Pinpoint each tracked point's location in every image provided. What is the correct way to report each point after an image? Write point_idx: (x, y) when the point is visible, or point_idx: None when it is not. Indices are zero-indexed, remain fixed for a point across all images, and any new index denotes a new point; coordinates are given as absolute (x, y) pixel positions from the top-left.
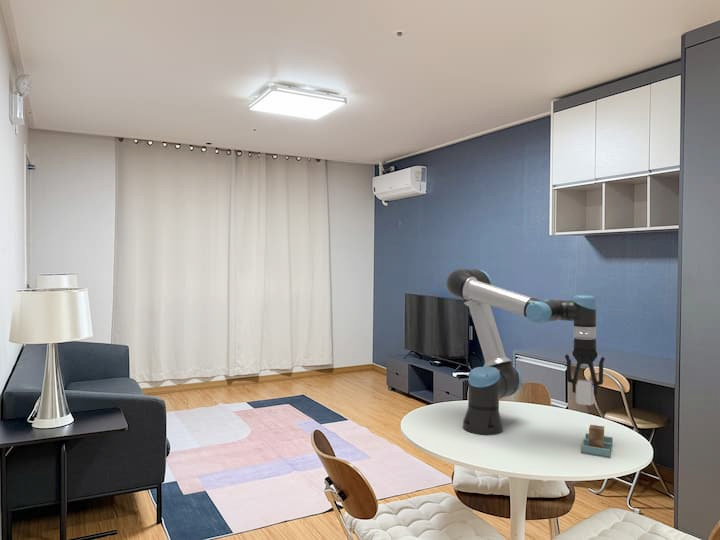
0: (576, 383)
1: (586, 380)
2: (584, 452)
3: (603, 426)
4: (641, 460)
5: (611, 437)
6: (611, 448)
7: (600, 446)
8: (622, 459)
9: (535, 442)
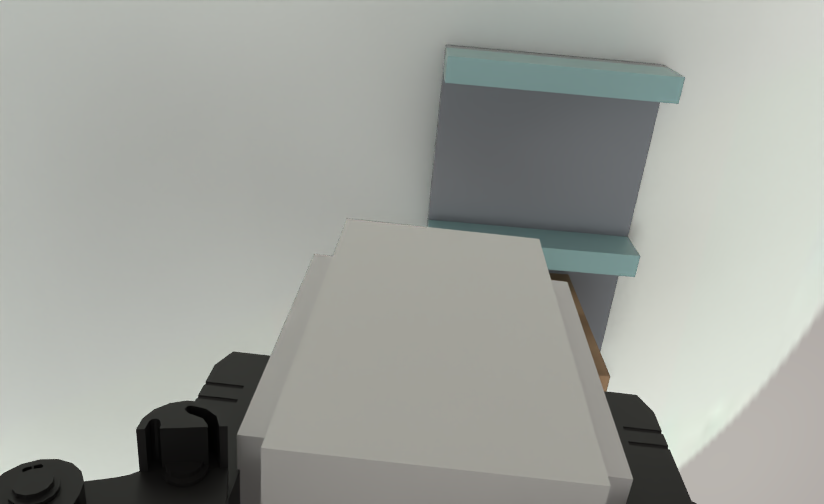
0: (238, 487)
1: (460, 488)
2: None
3: (602, 377)
4: (795, 327)
5: (672, 86)
6: (634, 193)
7: None
8: (669, 359)
9: (93, 275)
